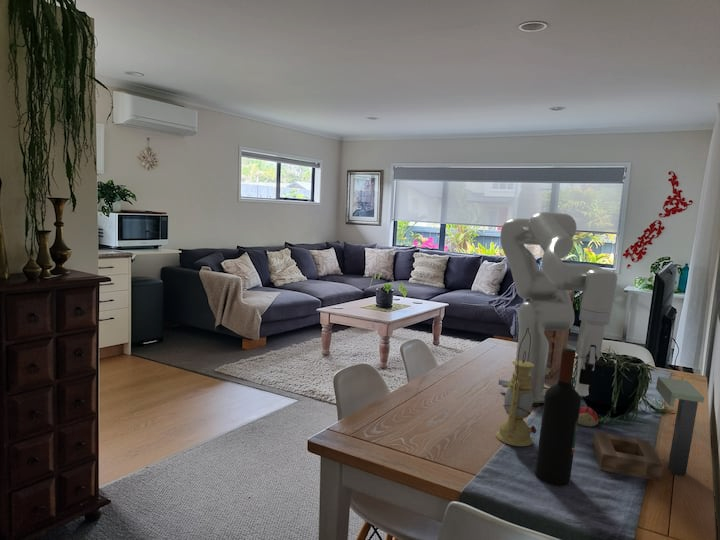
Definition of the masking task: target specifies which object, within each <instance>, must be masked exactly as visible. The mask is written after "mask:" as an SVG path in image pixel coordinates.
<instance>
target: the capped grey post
mask: <svg viewBox="0 0 720 540" xmlns="http://www.w3.org/2000/svg"><path fill="white" fill-rule="evenodd" d="M655 386H656V387H655V389H656V391H657V392H658V393H659V394H660V396H661V397H662V398H663V400H664V401H665V402H666V403H667V405H668V406H669V407H674V406H675V401H676V399H677V400H678V403H677V411H676V416H675V422H674V428H673V434H672V439H671V440H672V441H671V447H670V453H669V458H668V465H667V469H668V471H669V473H670V474H671V475H675V476H680V477H681V476H682V477H686V475H687V469H688V464H689V458H690V452H691V447H692V446H691V445H692V441H693V434H694V428H695V422H696V415H697V410H698V405H699V403H704V402H705V397H704V396H703V394H701V393H700V392H699V390H697V389H696V387H694V386H693V385H692V384H691V382H689V381H688V380H685V379H677V378H670V377H662V376H657V380H656V385H655Z"/></svg>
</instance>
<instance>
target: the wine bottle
mask: <svg viewBox="0 0 720 540" xmlns="http://www.w3.org/2000/svg"><path fill="white" fill-rule="evenodd" d="M576 353H577V351H576V349H572V348H568V347H567V348H563V349H562V354H561V356H562V357H561V364H560V369H559V372H558V379H557V382H556V383H555V384H553V385H552V386H550V387H549V388H548V389H547V390H545V392H544V393H545V399H544V402H543V409H542V415H541V423H540V431H539V439H538V447H537V455H536V461H535V471H534V475H535V477H536V478H537V479H538V480H540V481H541V482H542V483H545V484H547V485H550V486H556V487H564V486H568V485H569V484H570V482H571V476H572V466H573V461H574V460H573V459H574V453H575V448H576V447H575V446H576V439H577V433H578V432H577V431H578V418H579V411H580V408H581V404H582V403H581V395H579V394H578V393H577V391H576V390H575V387H573V384H572V381H573V373H574V365H575V359H576Z"/></svg>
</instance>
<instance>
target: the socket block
mask: <svg viewBox="0 0 720 540" xmlns="http://www.w3.org/2000/svg"><path fill="white" fill-rule="evenodd" d="M591 447H592V450H593V453H594V452H595V453H594V455H596V456H595V458H596V461H597V464H598V467H599V469H600V471H605V472H611V473H615V474H621V475H626V476H630V477H631V476H632V477H635V478H636V477H637V478H641V479H647V480H651V481H658V482H662V475H663V469H664V464H663V463H664V462H662V460H661V459H660V457H659V455H658V453H657V452H656V450H655V449H654V446H653V445H652V443H651V442H650V440H645V439H640V438H639V439H638V438H634V437H627V436H623V435H622V436H620V435H615V434H609V433H604V432H598V431H593V438H592V446H591Z"/></svg>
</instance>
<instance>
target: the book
mask: <svg viewBox="0 0 720 540" xmlns="http://www.w3.org/2000/svg"><path fill="white" fill-rule="evenodd" d="M568 293H569V296H570V300H571V303H572V306H573V305H574V304H573V303H574V299H575V298H574V297H575V291H568ZM573 307H574V306H573ZM569 334H570V329H568V330H562V331H550V330H548V331H544V335H545V337H546V338H547V340H548V344H549V350H548V358H547V365H546V373H545V379H551V378H552V377H553V376H554V375H555V374H557V372H558V371H560V364H561V357H562V356H561V354H562V349H563V348H568V343H569V342H568V341H569Z"/></svg>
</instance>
